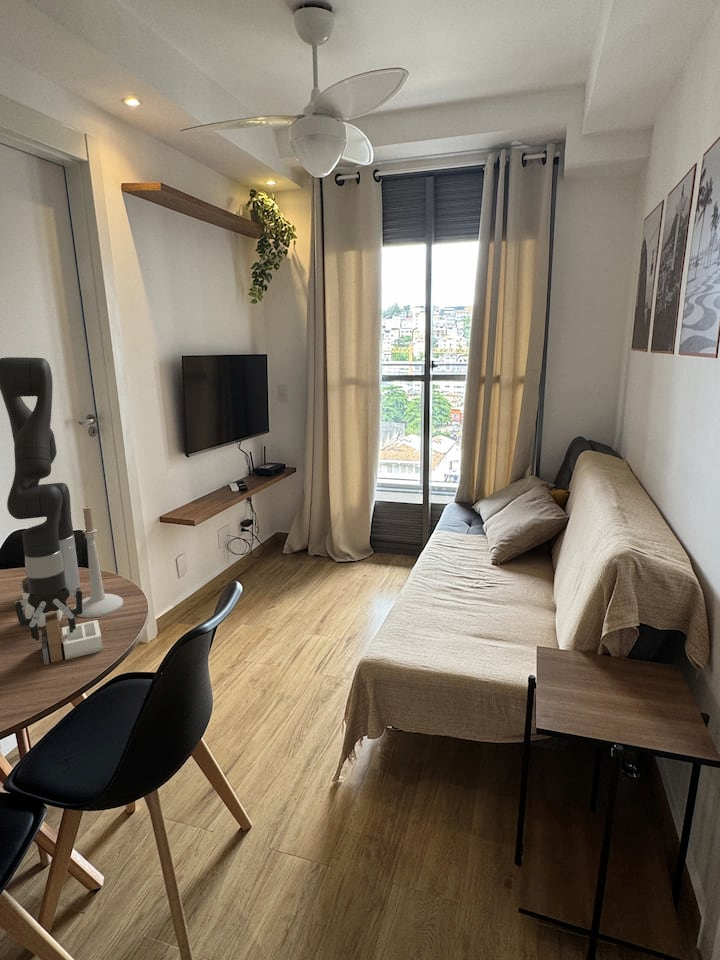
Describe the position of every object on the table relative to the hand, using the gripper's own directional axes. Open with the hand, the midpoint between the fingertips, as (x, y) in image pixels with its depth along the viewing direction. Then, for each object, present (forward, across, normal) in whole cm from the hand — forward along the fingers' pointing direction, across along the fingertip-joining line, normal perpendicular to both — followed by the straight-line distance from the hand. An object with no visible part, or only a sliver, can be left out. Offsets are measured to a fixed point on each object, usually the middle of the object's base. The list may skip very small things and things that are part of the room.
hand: (54, 635), depth 127 cm
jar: (+5, +2, -20) cm, 21 cm away
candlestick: (+5, -11, -21) cm, 24 cm away
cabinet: (+5, -3, 0) cm, 6 cm away
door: (+5, 0, 0) cm, 5 cm away
